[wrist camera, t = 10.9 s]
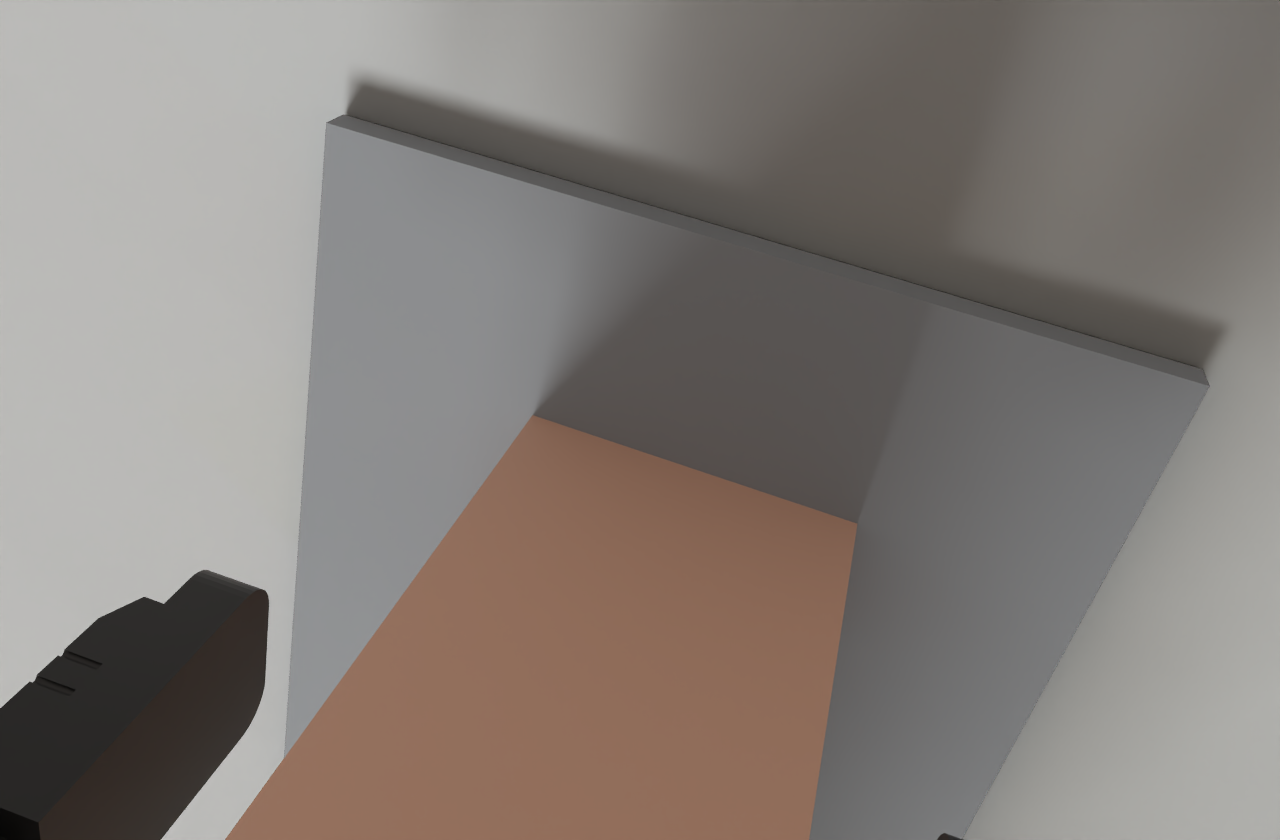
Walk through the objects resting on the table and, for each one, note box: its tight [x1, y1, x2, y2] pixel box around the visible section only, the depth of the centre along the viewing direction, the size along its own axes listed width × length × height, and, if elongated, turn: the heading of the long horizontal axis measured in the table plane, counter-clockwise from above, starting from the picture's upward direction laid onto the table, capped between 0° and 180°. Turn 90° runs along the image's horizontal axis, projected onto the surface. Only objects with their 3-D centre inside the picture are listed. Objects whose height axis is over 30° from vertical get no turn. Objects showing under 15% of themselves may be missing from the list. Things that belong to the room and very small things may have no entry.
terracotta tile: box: [225, 415, 857, 840], centre depth 12 cm, size 2×5×11 cm, turn 77°
